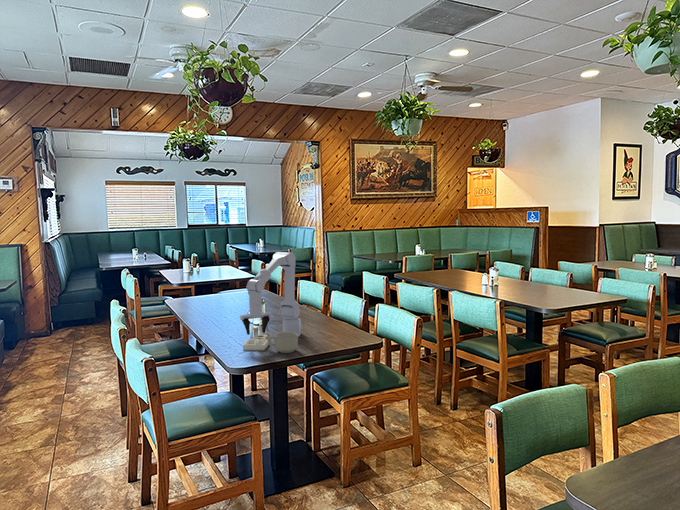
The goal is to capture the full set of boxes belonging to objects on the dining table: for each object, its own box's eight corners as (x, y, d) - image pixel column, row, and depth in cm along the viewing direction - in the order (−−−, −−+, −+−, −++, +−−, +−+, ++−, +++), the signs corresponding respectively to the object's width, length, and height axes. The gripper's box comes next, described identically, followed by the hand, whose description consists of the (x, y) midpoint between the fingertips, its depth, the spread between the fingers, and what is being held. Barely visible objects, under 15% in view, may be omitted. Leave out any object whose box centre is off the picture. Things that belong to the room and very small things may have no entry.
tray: (268, 344, 226) (268, 339, 226) (264, 350, 216) (264, 345, 216) (248, 344, 226) (248, 339, 226) (243, 350, 216) (242, 344, 216)
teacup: (299, 348, 220) (298, 331, 219) (297, 354, 209) (297, 337, 209) (269, 348, 219) (269, 331, 219) (266, 355, 209) (266, 337, 208)
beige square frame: (267, 340, 232) (267, 335, 232) (265, 344, 226) (264, 338, 226) (255, 340, 233) (255, 334, 233) (252, 344, 227) (252, 337, 227)
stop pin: (259, 345, 223) (258, 327, 222) (258, 346, 220) (258, 328, 220) (253, 345, 222) (253, 327, 222) (253, 346, 220) (253, 328, 219)
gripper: (267, 302, 227) (267, 329, 228) (237, 304, 219) (238, 333, 221) (272, 304, 221) (272, 332, 222) (242, 307, 213) (243, 336, 214)
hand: (256, 333), depth 221 cm, fingers open, 7 cm apart
